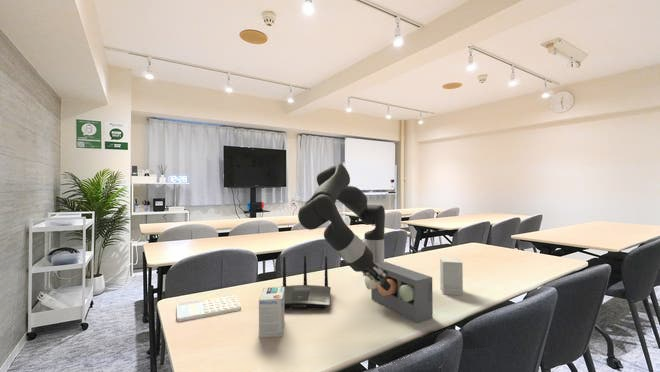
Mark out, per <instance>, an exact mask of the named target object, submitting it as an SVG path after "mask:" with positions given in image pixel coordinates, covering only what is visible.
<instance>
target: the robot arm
mask: <svg viewBox="0 0 660 372" xmlns="http://www.w3.org/2000/svg"><path fill="white" fill-rule="evenodd" d="M350 178H351V177H350V174H349V170H347V168H346V167H345V166H344V164H342V163H335V164H333V165H331V166H328V167H327V168H325V169H323V170H322V171H320V172H318V173H317V175H316V183H317V185H318V187H317V188H316V189H315V190H314V193H313V195H312V196H311V197H310V198H309V199H308V200H307V201H306V202H305V203H303V204H302V205H301V206H300V208H299V210H298V213H297V218H298V222H299V225H301V226H302V227H303V228H304V229H307V230H310V231H311V230H312V231H313V230H316V229H318V228H320V227H321V226H323V225H324V224H326V223H327V222H328V221H329V222H330V223H329V225H328V226H326V228H325V229H324V231H323V237H324V240H325V241H326V242H327V243H328V244H329V245H330V246H331V247H332V248H333V249H334V250H335V252H336V253H337V254H338V255H339V257H340V258H341V259H342V260H343V261H344V262H345V263H346V264H347V265H348V266H349V268H351V270H353V271H354V272H356V273H357V272H360V273H362V275H365V277H366V276H367V277H369V278H370V279H371V280H374V281H375V282H376V283H378V284H379V285H380V286H381V287H382V288H383V289H384V290H386V291H388V290H389V289H390V287H391V285H390V284H389V282H388V281H387V279H388V274H387V271H386V270H382V271H381V269H380V268H379V267H378V265H377V264H376V263H382V262H385V227H386V226H385V224H386V223H385V220H386V211H385V207H384V205H380V204H377V205H376V204H368V197H367V196H366V194H365V193H364V191H362V190H361V189H360V188H358V187H357V186H354V185H350V182H351V179H350ZM337 201H338V202H340V203H341V204H342V205H344V206H345V207H346V208H347V209H348V210H349V211H351V212H352V213H353V214H355V215H356V216H357V217H358V218H359V219H360V221H361V222H362V223H364V224H366V225H374V228H373V229H371V230H368V231H366V232H365V233H364V242H363V240H362V239H361V237H359V235H357V234H355V233H354V232H353V230H352V229H350V228H349V226H348V225H347V223H346V222H345V221H344V219H343V218H342V216H341V214H340V212H339V210H338V208H337V205H336V202H337Z"/></svg>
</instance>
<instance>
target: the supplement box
mask: <svg viewBox="0 0 660 372" xmlns="http://www.w3.org/2000/svg"><path fill="white" fill-rule="evenodd" d="M463 269H464V268H463V262H462V261H461V260H460V259H459V258H452V257H451V258H450V257H449V258H447V257H440V259H439V274H440V275H439V278H440V279H439V282H440V284H439V287H440V290H441V292H442V294H443V295H452V296H453V295H454V296H463V295H464V289H463V288H464V286H463V285H464V284H463V283H464V282H463V281H464V280H463V276H464V275H463Z"/></svg>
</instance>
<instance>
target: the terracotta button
mask: <svg viewBox="0 0 660 372" xmlns="http://www.w3.org/2000/svg"><path fill="white" fill-rule="evenodd" d="M387 281H388V282H389V284H390V285H391V287H390V289H389V290H388V291H386V290H384V289H383V288H382V287H381V286H380V285H379V284H378V291H379V293H380V294H381V295H382V296H387V295H391V294H395V293H397V292H398V290H397V281H396V280H395V279H394V278H391V279H387Z"/></svg>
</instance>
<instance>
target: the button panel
mask: <svg viewBox="0 0 660 372" xmlns="http://www.w3.org/2000/svg"><path fill="white" fill-rule="evenodd" d="M376 264H377V265H378V267H379V268H380V269H381V271H382V270H386V271H387V274H388V279H391V278H394V279H395V280H396V281H397V290H398V292H397V293H395V294H391V295H387V296H382V295H381V294H380V293H379V291H378V288H375V289H370V290H371V291H370V292H371V294H370V296H371V300H372V301H375V302H376V303H378V304H380V305H381V306H384V307H385V308H387V309H390V310H391V311H393V312H394V313H396V314H399V315H400V316H403V317H404V318H406V319H409V320H410V321H412V322H414V323H416V324H418V323H422V322H425V321H427V320H431V319H433V317H434V314H433V313H434V311H433V301H434V300H433V277H432V276H430V275H426V274H424V273H421V272H417V271H415V270H412V269H409V268H406V267H403V266H400V265H396V264H393V263H392V262H388V261H384V262H382V263H376ZM407 284H409V285H412V286H414V300H412V301H408V302H405V301H403V300H402V298H401V297H400V293H399V289H400V287H401V286H402V285H407Z"/></svg>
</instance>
